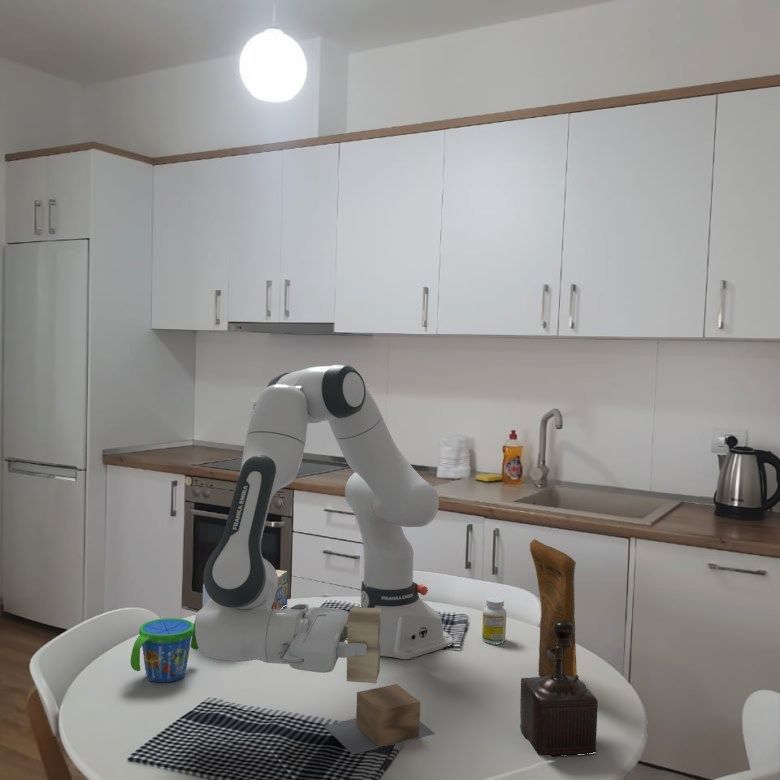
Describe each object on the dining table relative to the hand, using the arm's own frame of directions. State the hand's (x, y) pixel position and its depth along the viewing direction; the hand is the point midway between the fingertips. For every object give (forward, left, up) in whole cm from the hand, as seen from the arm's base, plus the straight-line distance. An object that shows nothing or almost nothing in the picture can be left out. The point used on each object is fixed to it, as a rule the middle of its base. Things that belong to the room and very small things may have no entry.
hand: (369, 641), depth 134 cm
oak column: (+1, -1, -6) cm, 6 cm away
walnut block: (-4, 0, -16) cm, 17 cm away
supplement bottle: (-48, -28, -17) cm, 58 cm away
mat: (-3, -1, -17) cm, 17 cm away
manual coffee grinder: (-30, +13, -17) cm, 37 cm away
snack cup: (+24, -40, -17) cm, 50 cm away
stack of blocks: (-4, -66, -17) cm, 68 cm away
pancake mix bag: (-45, -4, -17) cm, 48 cm away
